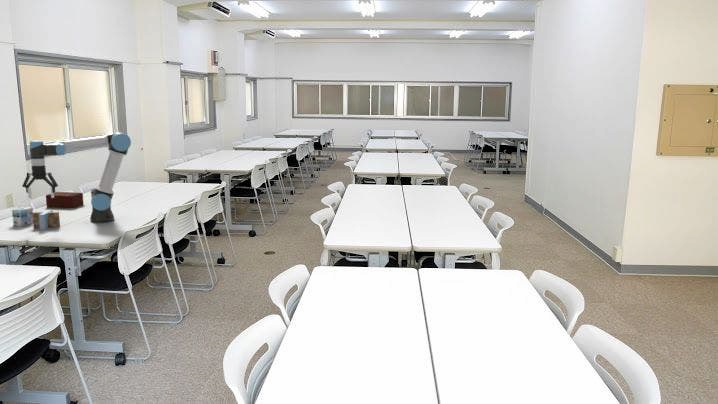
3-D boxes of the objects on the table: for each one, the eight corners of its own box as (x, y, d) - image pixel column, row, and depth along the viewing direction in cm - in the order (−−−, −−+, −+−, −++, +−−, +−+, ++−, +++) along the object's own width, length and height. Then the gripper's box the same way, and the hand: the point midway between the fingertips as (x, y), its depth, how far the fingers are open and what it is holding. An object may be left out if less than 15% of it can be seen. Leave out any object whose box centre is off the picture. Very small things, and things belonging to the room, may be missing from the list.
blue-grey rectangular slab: (48, 224, 353) (47, 210, 351) (53, 224, 354) (52, 210, 352) (40, 229, 340) (38, 214, 338) (45, 229, 340) (43, 214, 338)
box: (84, 204, 420) (83, 192, 418) (72, 208, 404) (71, 196, 402) (59, 203, 421) (58, 191, 419) (46, 207, 405) (45, 195, 403)
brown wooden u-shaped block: (60, 226, 349) (58, 211, 347) (58, 227, 346) (57, 212, 345) (35, 226, 347) (34, 212, 345) (33, 227, 344) (32, 213, 342)
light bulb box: (21, 226, 347) (20, 210, 345) (12, 225, 348) (11, 209, 346) (34, 222, 357) (33, 207, 355) (26, 222, 359) (24, 206, 357)
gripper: (61, 164, 340) (64, 196, 344) (19, 164, 336) (23, 196, 340) (57, 165, 333) (60, 198, 337) (14, 165, 329) (17, 199, 333)
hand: (41, 197), depth 338 cm, fingers open, 13 cm apart
